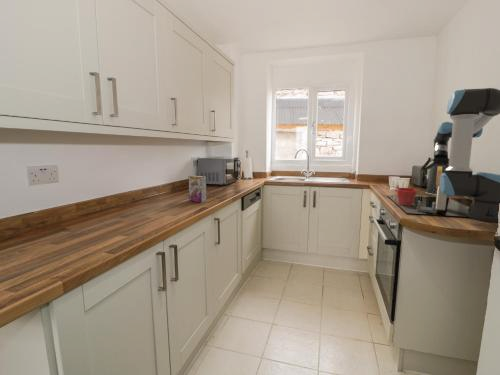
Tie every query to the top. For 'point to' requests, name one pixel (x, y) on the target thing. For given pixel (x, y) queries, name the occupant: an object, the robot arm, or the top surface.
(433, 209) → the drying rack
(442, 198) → the white tall block
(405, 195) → the flower pot
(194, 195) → the candy bar box
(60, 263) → the top surface
